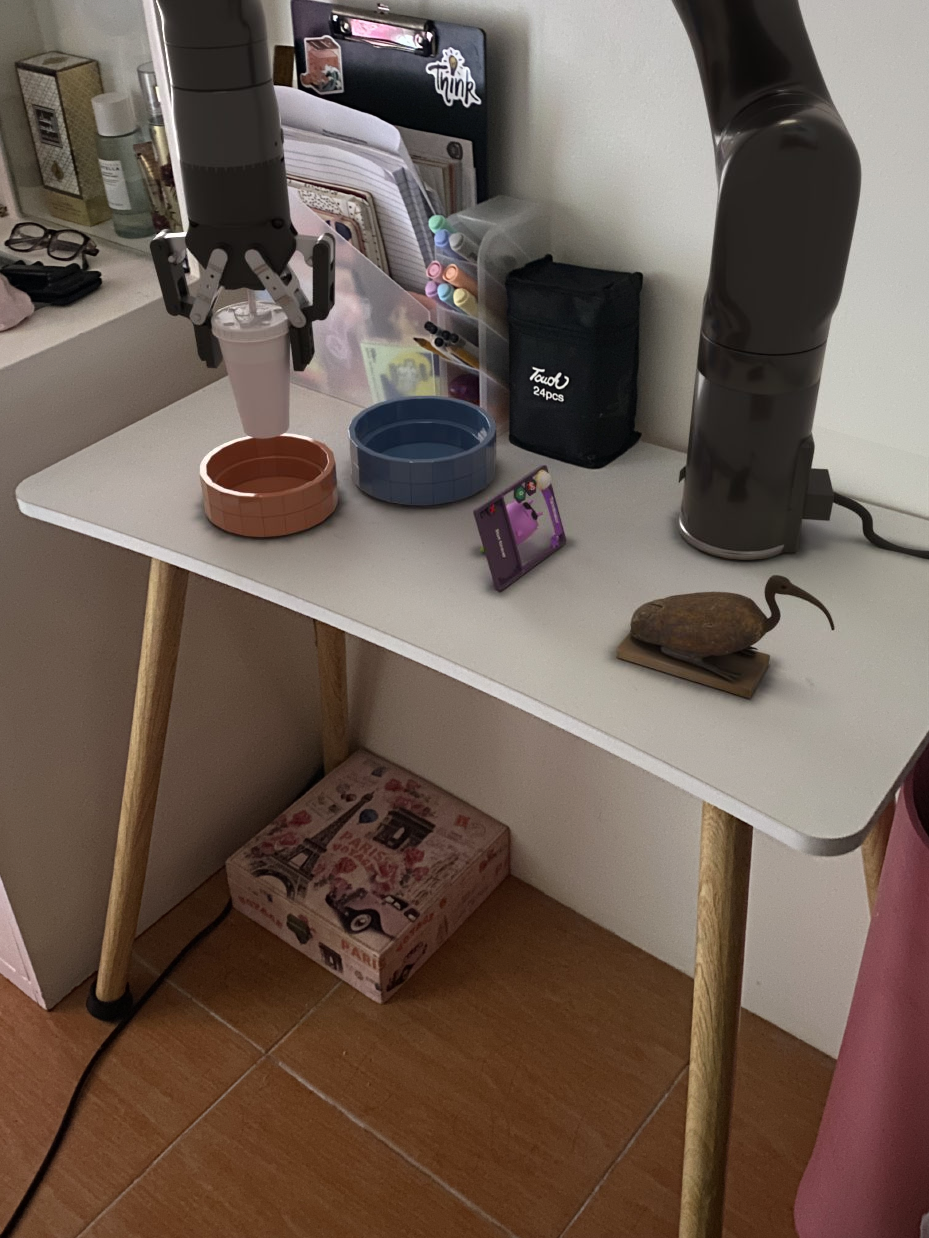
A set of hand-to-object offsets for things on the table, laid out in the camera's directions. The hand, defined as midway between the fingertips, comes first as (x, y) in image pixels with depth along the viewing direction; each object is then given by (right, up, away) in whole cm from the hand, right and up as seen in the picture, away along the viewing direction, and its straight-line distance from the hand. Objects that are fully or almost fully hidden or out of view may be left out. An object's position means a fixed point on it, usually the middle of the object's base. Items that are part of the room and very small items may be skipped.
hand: (258, 365), depth 97 cm
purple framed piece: (+20, -15, 0) cm, 25 cm away
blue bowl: (+13, -7, +12) cm, 19 cm away
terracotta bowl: (0, -10, +7) cm, 13 cm away
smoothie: (0, -5, +3) cm, 6 cm away
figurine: (+34, -24, -12) cm, 43 cm away
